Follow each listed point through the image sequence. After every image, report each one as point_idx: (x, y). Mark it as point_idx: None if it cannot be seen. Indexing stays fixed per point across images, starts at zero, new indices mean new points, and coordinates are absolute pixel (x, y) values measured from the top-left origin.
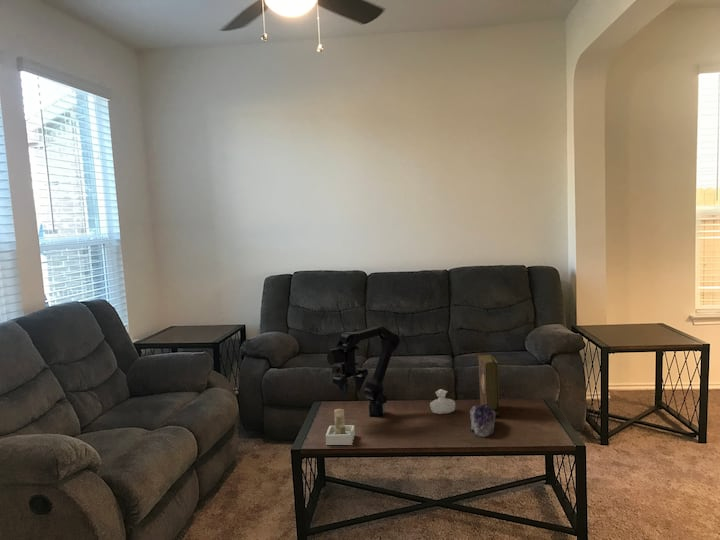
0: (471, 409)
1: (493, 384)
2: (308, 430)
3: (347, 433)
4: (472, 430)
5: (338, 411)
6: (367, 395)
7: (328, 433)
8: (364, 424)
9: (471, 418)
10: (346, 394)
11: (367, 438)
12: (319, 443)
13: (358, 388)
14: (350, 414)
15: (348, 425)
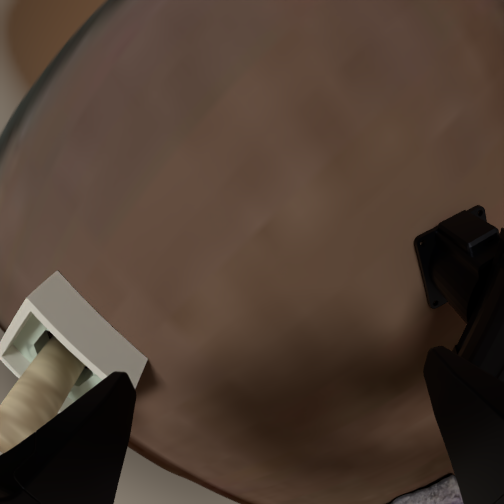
0: (453, 501)
1: None
2: (22, 115)
3: (93, 373)
4: (392, 502)
5: (1, 450)
6: (489, 319)
7: (6, 347)
8: (292, 303)
9: (430, 498)
10: (125, 440)
11: (172, 406)
12: (5, 289)
13: (442, 413)
14: (381, 96)
15: (106, 376)
